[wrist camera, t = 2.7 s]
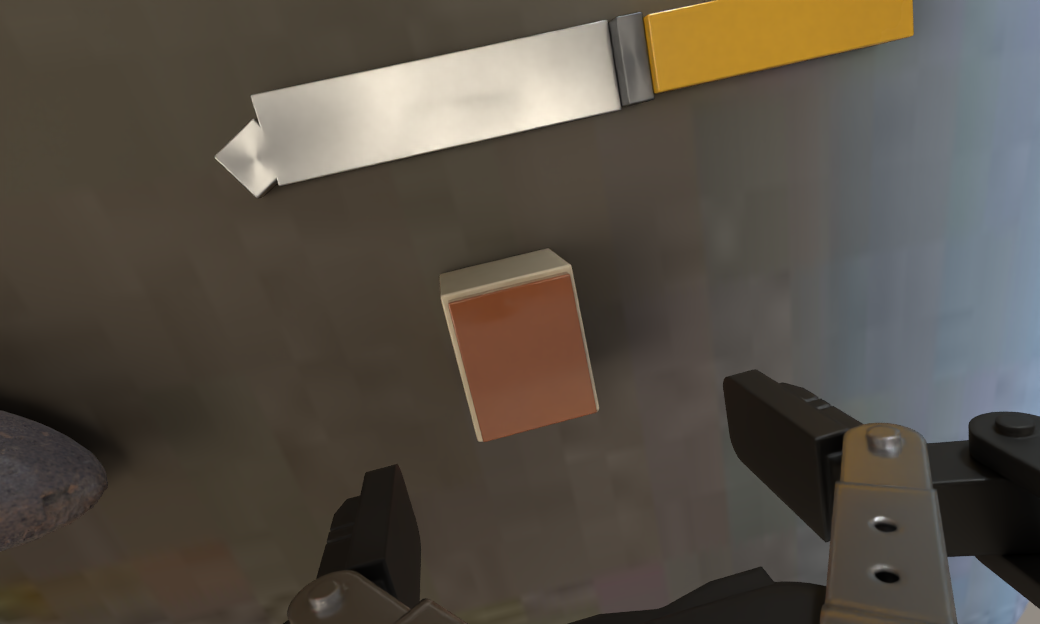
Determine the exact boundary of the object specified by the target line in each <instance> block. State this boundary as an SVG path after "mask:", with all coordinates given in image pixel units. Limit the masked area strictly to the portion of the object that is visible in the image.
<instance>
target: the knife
mask: <svg viewBox="0 0 1040 624" xmlns="http://www.w3.org/2000/svg"><path fill="white" fill-rule="evenodd" d="M913 34H914V29H913V0H715V1H710V2H705V3H700V4H696V5H691V6H686V7H681V8H677V9H672V10H667V11H662V12H658V13H653V14H649V15H647V16H646V17H644V18H643V14H642V12H636V13H632V14H627V15H622V16H617V17H616V18H614V19H613V20H612V21H610V22H609V23H608V21H607V20H603V21H598V22H593V23H589V24H584V25H579V26H574V27H570V28H565V29H560V30H555V31H551V32H546V33H541V34H536V35H532V36H527V37H522V38H517V39H513V40H508V41H503V42H498V43H494V44H489V45H484V46H479V47H475V48H470V49H465V50H460V51H456V52H451V53H446V54H441V55H437V56H432V57H427V58H422V59H418V60H413V61H408V62H403V63H399V64H394V65H389V66H384V67H380V68H375V69H370V70H365V71H361V72H356V73H351V74H346V75H342V76H337V77H332V78H327V79H323V80H318V81H313V82H308V83H304V84H299V85H294V86H289V87H285V88H280V89H275V90H270V91H266V92H261V93H256V94H251V95H250V97H251V100H252V103H253V107H254V110H255V113H256V116H257V119H254V118H253V119H251V120H250V121H249V122H248V123H247V124H246V125H245V126H244V127H243V128H242V129H241V130H240V131H239V132H238V133H237V134H236V135H235V136H234V137H233V138H232V139H231V140H230V141H229V142H228V143H227V144H226V145H225V146H224V147H223V148H222V149H221V150H220V151H219V152H218V153H217V154H216V155H215V156H214V158H215V159H216V160H217V161H218V162H219V163H220V164H221V165H222V166H223V167H224V168H225V169H226V170H227V171H228V172H230V173H231V174H232V175H233V176H234V177H235V178H236V179H237V180H238V181H239V182H240V183H241V184H242V185H243V186H244V187H245V188H246V189H247V190H249V191H250V192H251V193H252V194H253V195H254V196H255V197H256V198H261V197H263V196H264V195H265V194H266V193H267V192H269V191H270V190H271V189H272V188H273V187H274V186H275V185H276V184H277V183H278V185H279V186H284V185H289V184H293V183H298V182H302V181H307V180H311V179H316V178H320V177H325V176H329V175H334V174H338V173H343V172H347V171H351V170H356V169H360V168H365V167H369V166H374V165H378V164H383V163H387V162H392V161H396V160H401V159H405V158H410V157H414V156H419V155H423V154H428V153H432V152H436V151H441V150H445V149H450V148H454V147H459V146H463V145H468V144H472V143H477V142H481V141H486V140H490V139H495V138H499V137H504V136H508V135H513V134H517V133H521V132H526V131H530V130H535V129H539V128H544V127H548V126H553V125H557V124H562V123H566V122H571V121H575V120H580V119H584V118H589V117H593V116H598V115H602V114H606V113H611V112H615V111H619V110H621V109H622V107H626V106H630V105H634V104H639V103H643V102H647V101H650V100H654V98H655V96H654V95H655V94H659V93H664V92H668V91H673V90H677V89H682V88H686V87H691V86H695V85H700V84H704V83H709V82H713V81H718V80H722V79H727V78H731V77H736V76H740V75H745V74H749V73H754V72H758V71H763V70H767V69H772V68H776V67H781V66H785V65H790V64H794V63H799V62H803V61H808V60H812V59H817V58H821V57H826V56H830V55H835V54H839V53H844V52H848V51H853V50H857V49H862V48H866V47H871V46H875V45H879V44H883V43H887V42H891V41H895V40H899V39H903V38H907V37H911V36H913Z"/></svg>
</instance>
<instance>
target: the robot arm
mask: <svg viewBox="0 0 1040 624" xmlns="http://www.w3.org/2000/svg"><path fill="white" fill-rule="evenodd" d="M723 390H724V397H725V405H726V412H727V419H728V427H729V434H730V439H731V443H732V446H733V448H734V450H735V452H736V454H737V456H738V458H739V459H740V460H741V461H742V462H743V463H744V464H745V465H746V466H747V467H748V468H749V469H750V470H751V471H752V472H753V473H754V474H755V475H756V476H757V477H758V478H759V479H760V480H761V481H762V482H763V483H765V484H766V485H767V486H768V487H769V488H770V489H771V490H772V491H773V492H774V493H775V494H776V495H777V496H778V497H779V498H780V499H781V500H782V501H783V502H784V503H785V504H786V505H787V506H788V507H789V508H790V509H792V510H793V511H794V512H795V513H796V514H797V515H798V516H799V517H800V518H801V519H802V520H803V521H804V522H805V523H806V524H807V525H808V526H809V527H810V528H811V529H812V530H813V531H814V532H815V533H816V534H817V535H819V536H820V537H821V538H822V539H823V540H824V541H825V542H829V541H830V550H829V562H828V573H827V585H826V586H822V585H817V584H811V583H802V582H774V581H773V580H772V579H771V578H770V576H769V575H768V574H767V573H766V571H765V570H764V569H763V568H762V567H758V568H754V569H751V570H748V571H744V572H741V573H738V574H734V575H731V576H727V577H724V578H721V579H717V580H714V581H710V582H708V583H706V584H705V585H703V586H701V587H699V588H697V589H696V590H694V591H692V592H690V593H688V594H687V595H685V596H683V597H681V598H679V599H678V600H676V601H674V602H672V603H670V604H669V605H667V606H665V607H663V608H659V609H653V610H642V611H631V612H619V613H608V614H599V615H595V616H592V617H589V618H585V619H582V620H578V621H575V622H572V623H568V624H958V623H957V617H956V611H955V604H954V598H953V591H952V585H951V578H950V572H949V565H948V559H947V557H954V556H975V557H976V558H977V559H978V560H979V561H980V562H981V563H983V564H984V565H985V566H986V567H988V568H989V569H990V570H991V571H993V572H994V573H995V574H996V575H998V576H999V577H1000V578H1001V579H1003V580H1004V581H1005V582H1006V583H1008V584H1009V585H1010V586H1012V587H1013V588H1014V589H1015V590H1017V591H1018V592H1019V593H1020V594H1022V595H1023V596H1024V597H1025V598H1027V599H1028V600H1029V601H1030V602H1032V603H1033V604H1034V605H1035V606H1037V607H1038V608H1039V609H1040V417H1039V416H1036V415H1031V414H1026V413H1019V412H991V413H986V414H982V415H979V416H977V417H974V418H973V419H972V420H971V421H970V422H969V440H966V441H953V442H941V443H926V440H925V438H924V437H923V436H922V435H921V434H920V433H918V432H917V431H915V430H913V429H911V428H908V427H905V426H901V425H897V424H890V423H869V424H862V423H860V422H859V421H857V420H855V419H854V418H852V417H851V416H849V415H847V414H846V413H844V412H842V411H841V410H839V409H837V408H836V407H834V406H830V404H829V403H827V402H826V401H824V400H822V399H819V398H818V397H817V396H816V395H814V394H813V393H811V392H809V391H808V390H806V389H804V388H801V387H798V386H794V385H790V384H786V383H777V382H776V381H774V380H772V379H771V378H769V377H768V376H766V375H765V374H763V373H761V372H760V371H758V370H751V371H747V372H743V373H739V374H736V375H732V376H728V377H726V378H725V379H724V381H723ZM330 531H331V532H329V535H328V539H327V544H326V546H325V550H324V553H323V557H322V560H321V564H320V568H319V571H318V575H317V578H316V580H314V581H312V582H311V583H309V584H308V585H307V586H305V587H304V588H303V589H302V590H301V591H300V592H299V593H298V594H297V595H296V596H295V597H294V599H293V600H292V601H291V603H290V605H289V608H288V611H287V616H288V621H286V622H285V623H283V624H468V623H466V622H465V621H463V620H462V619H460V618H458V617H457V616H455V615H454V614H452V613H451V612H449V611H448V610H446V609H445V608H443V607H441V606H440V605H438V604H437V603H435V602H434V601H432V600H430V599H422V600H421V601H420V567H421V543H420V535H419V530H418V526H417V522H416V518H415V515H414V512H413V509H412V505H411V502H410V499H409V495H408V492H407V489H406V486H405V482H404V479H403V476H402V473H401V470H400V468H399V466H398V464H395V465H391V466H388V467H384V468H380V469H376V470H373V471H369V472H366V473H365V476H364V481H363V486H362V490H361V495H360V496H357V497H353V498H350V499H347V500H346V501H345V502H344V503H343V505H342V506H341V507H340V508H339V509H338V511H337V512H336V513H335V514H334V517H333V521H332V524H331V528H330Z"/></svg>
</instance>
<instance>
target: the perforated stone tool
mask: <svg viewBox="0 0 1040 624" xmlns="http://www.w3.org/2000/svg"><path fill="white" fill-rule="evenodd" d="M107 486H108V482H107V474H106V471H105V469H104V467H103V466H102V464H101V463H100V461H99V460H98V459H97V458H96V457H95V456H94V454H92V452H90V451H89V450H87V449H86V448H84V447H83V446H81V445H80V444H78V443H77V442H76V441H74V440H73V439H71V438H69V437H68V436H66V435H64V434H62V433H60V432H58V431H56V430H54V429H52V428H50V427H48V426H45V425H43V424H41V423H37V422H36V421H32V420H29V419H26V418H24V417H21V416H18V415H15V414H11V413H8V412H5V411H1V410H0V551H4V550H6V549H9V548H12V547H15V546H18V545H22V544H26V543H28V542H31V541H33V540H36V539H39V538H42V537H43V536H44V535H45V534H49V533H51V532H54V531H55V530H57V529H59V528H60V527H64V526H66V525H68V524H71V523H72V522H73V521H75V520H76V519H78V518H79V517H81V516H82V515H84V513H85V512H87V511H88V510H89V509H92V508H93V507H94V505H95V504H96V503H97V502H98V500H99V499H100V497H101V496H102V494H103V492H104V490H106V489H107Z"/></svg>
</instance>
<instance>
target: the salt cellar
mask: <svg viewBox="0 0 1040 624" xmlns="http://www.w3.org/2000/svg"><path fill="white" fill-rule="evenodd" d="M439 284H440V298H441V302H442V306H443V310H444V313H445V317H446V321H447V325H448V329H449V333H450V337H451V340H452V344H453V348H454V352H455V356H456V360H457V363H458V367H459V371H460V375H461V379H462V383H463V386H464V390H465V394H466V398H467V402H468V406H469V410H470V413H471V417H472V421H473V425H474V429H475V433H476V436H477V440H478V441H479V442H481V441H483V442H487V441H491V440H494V439H498V438H502V437H506V436H510V435H513V434H517V433H521V432H525V431H528V430H532V429H536V428H540V427H544V426H547V425H551V424H555V423H559V422H562V421H566V420H570V419H574V418H577V417H581V416H585V415H589V414H593V413H596V412H597V411H598V410H599V404H598V398H597V393H596V388H595V383H594V378H593V373H592V368H591V363H590V358H589V352H588V347H587V342H586V337H585V332H584V327H583V322H582V317H581V312H580V306H579V301H578V296H577V291H576V286H575V281H574V276H573V271H572V266H571V264H569V263H568V262H567V261H565V260H564V259H563V258H562V257H560V256H559V255H558V254H556V253H555V252H554V251H552V250H551V249H550V248H547V249H542V250H538V251H534V252H530V253H526V254H522V255H517V256H513V257H509V258H505V259H501V260H497V261H492V262H488V263H484V264H480V265H476V266H472V267H467V268H463V269H459V270H455V271H451V272H447V273H443V274H440V275H439Z"/></svg>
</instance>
